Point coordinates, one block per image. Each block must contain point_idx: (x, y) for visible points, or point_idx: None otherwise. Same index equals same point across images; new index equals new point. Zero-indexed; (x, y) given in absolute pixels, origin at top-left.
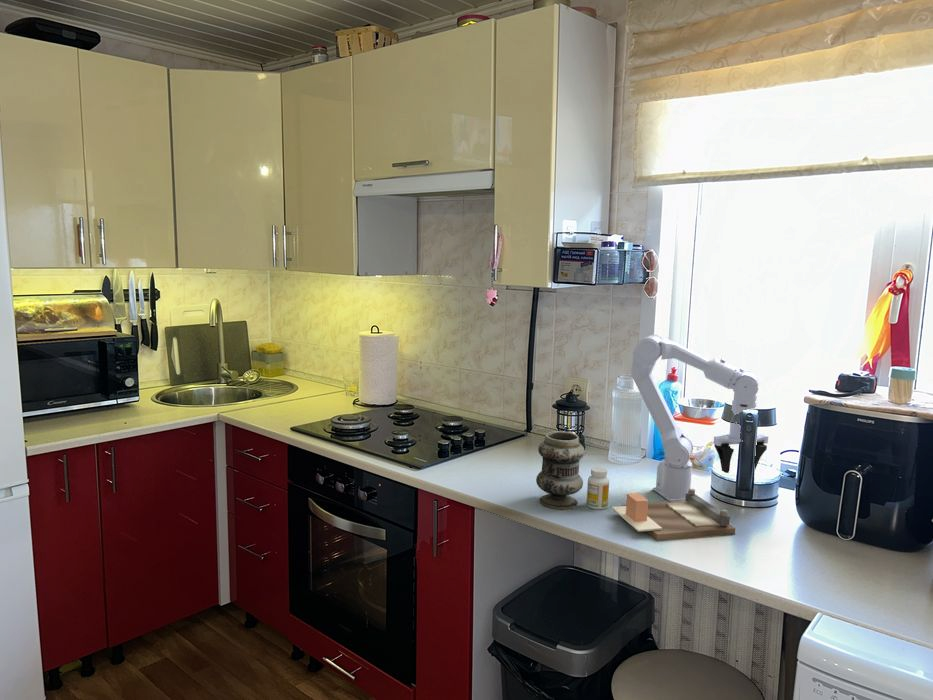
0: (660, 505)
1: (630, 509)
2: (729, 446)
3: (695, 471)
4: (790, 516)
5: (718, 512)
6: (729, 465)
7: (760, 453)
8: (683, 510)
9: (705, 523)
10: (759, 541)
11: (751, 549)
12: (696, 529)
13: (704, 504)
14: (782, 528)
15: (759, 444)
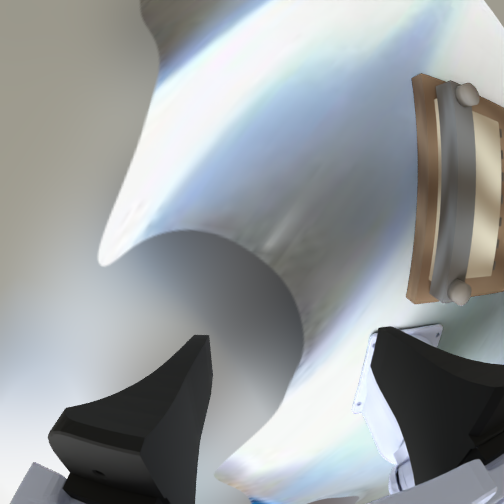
0: (497, 272)
1: None
2: (481, 440)
3: (229, 475)
4: (137, 157)
5: (466, 121)
6: (407, 343)
7: (137, 401)
8: (487, 220)
9: (480, 123)
10: (368, 24)
11: (407, 10)
12: (497, 113)
13: (471, 195)
14: (237, 68)
15: (114, 487)
